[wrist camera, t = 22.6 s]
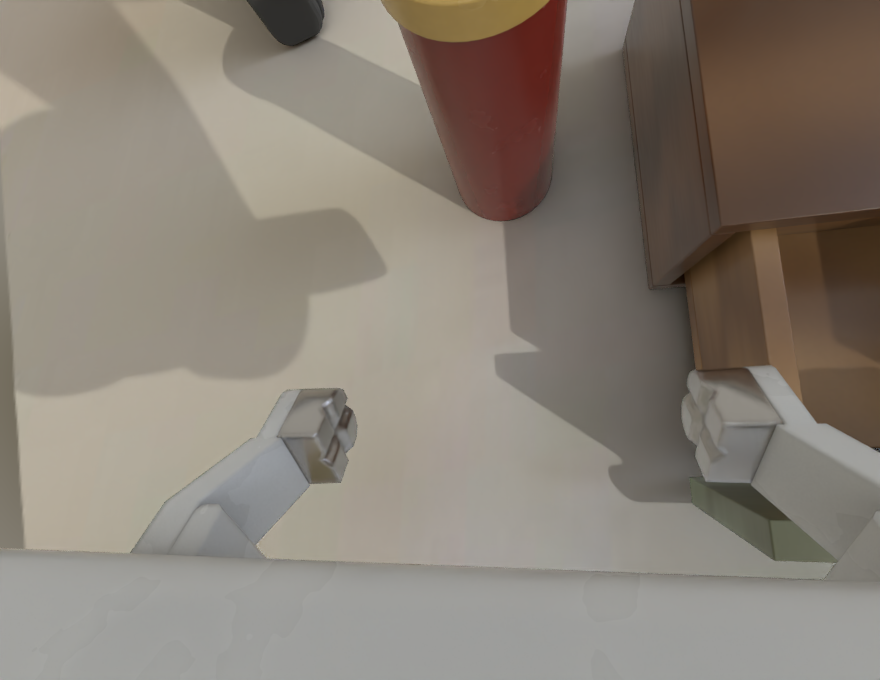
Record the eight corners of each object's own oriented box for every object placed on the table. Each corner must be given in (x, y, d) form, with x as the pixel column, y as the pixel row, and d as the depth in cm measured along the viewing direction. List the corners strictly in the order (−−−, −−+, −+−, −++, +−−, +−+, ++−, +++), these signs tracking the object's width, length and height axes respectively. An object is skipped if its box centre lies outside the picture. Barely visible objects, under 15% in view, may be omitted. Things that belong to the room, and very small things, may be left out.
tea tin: (526, 110, 24) (520, -249, 11) (575, 193, 23) (637, -91, 10) (437, 161, 25) (325, -113, 11) (480, 243, 24) (412, 47, 10)
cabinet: (1006, 259, 19) (1383, 153, 10) (648, 290, 22) (720, 226, 13) (945, -15, 21) (1226, -292, 12) (622, 47, 24) (671, -142, 15)
